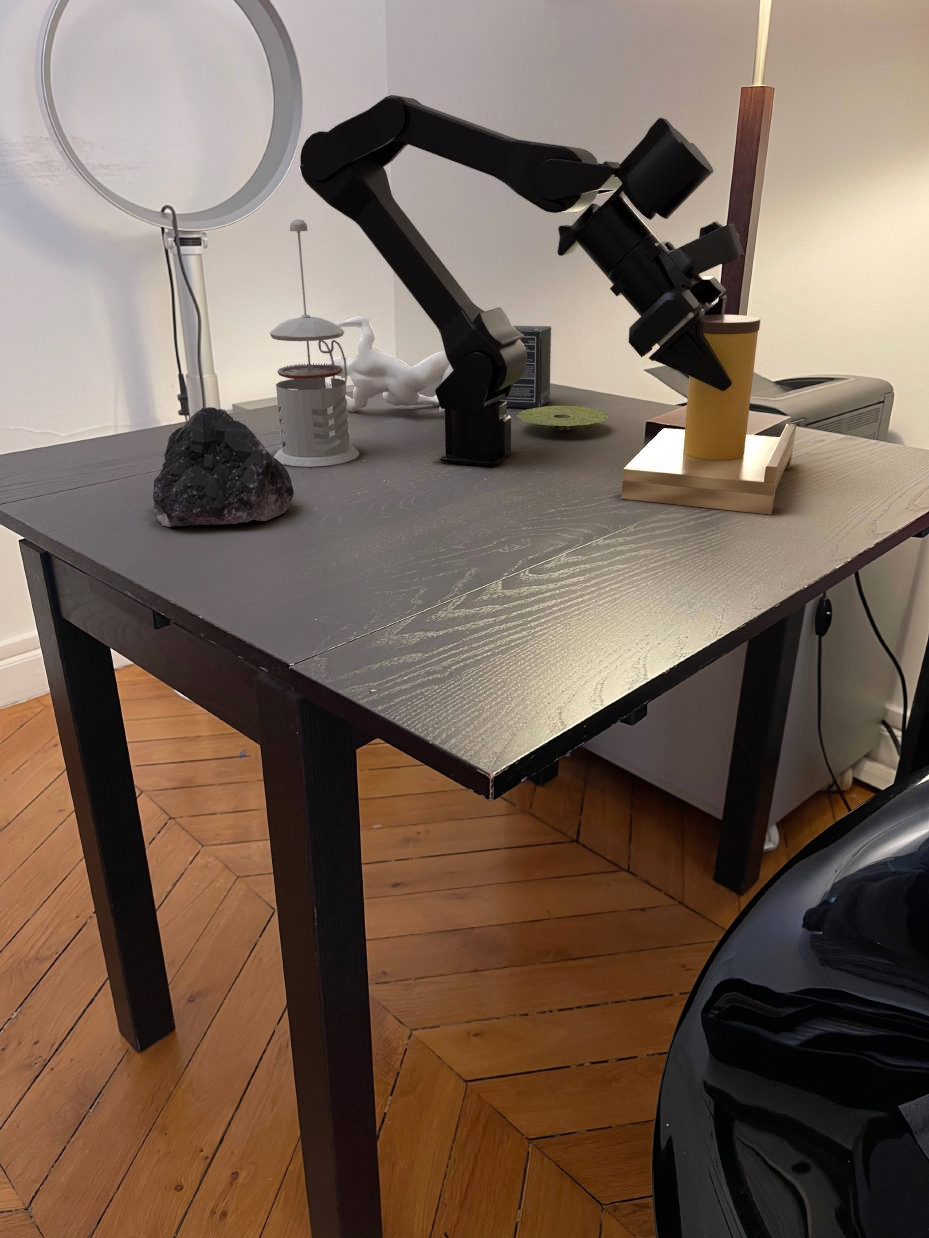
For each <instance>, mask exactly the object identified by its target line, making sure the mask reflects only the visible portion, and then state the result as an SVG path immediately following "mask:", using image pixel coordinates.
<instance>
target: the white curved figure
mask: <svg viewBox="0 0 929 1238" xmlns="http://www.w3.org/2000/svg"><path fill="white" fill-rule="evenodd" d="M331 322H332V323H334V324H335V325H337V326H338V327H340V328H341V329H343V328H358V329H359V328H360V333H359V334H360V338H359V340H358V341H357V344H356V349H357V354H356V356H355V357H354V358H353V359H352V358H349V357H345V359H346V368H347V377H348V376H349V377H350V380H351V381H352V384H353V385H354V387H353V390H352V398H351V397H350V396H348V395H347V394H345V399H347V406H346V410H347V411H349V412H351V413H354V412H357V411H359V410H360V409H363V408H366V407H367V406H368V403H369V399H371V398H374V397H376V396H377V395H380V394H382V398H383V400H384V402H386V403H387V404H390V405H392V406H406V407H407V406H409V407H410V406H419V405H432V406H439V407H438V411H439V413H441V414H445V409H441V407H440V405H439V402H438V399H437V396H436V394H435V395H434V396H427V395H424V394H420V392H421V391H424V390H426V388H428V387H429V386H430V385H432V384H434V383H436V382H438V381H440V384H441V383H442V382H443V381H444V380H445V379H446V378H447V377H448V376H449V374H450V373H451V372H452V371H453V369H452V367H451V365H450V363H449V361H448V359H447V357H446V354H445V350H442V351H438V352H434V353H432V354H431V355H429V356H427V357H426V358H424V359H423V360H421V361H420V362H419V363H417V364H414V365H412V366H411V365H408V363H406V362H405V361H403V360H401V359H400V358H398V357H396V356H394V355H391V354H388V353H385V352H381V351H380V350H379V349H378V348H375V346H374V343H375V341H376V338H377V334H376V331H375V330H374V328H373V326H372V323H371V318H369V317H366V316H362V315H358V316H353V317H352V316H351V317H350V318H348V319H344V320H340V321H331ZM333 360H334V365H337V366H340V367H341V368H342V372H341V373H339V374H338V375H336V376H337V377H340V379H345V369H344V359H343V356H336V357H333ZM329 364H330V365H331V364H332V361H331V360H330V361H329V362H328V365H329ZM336 376H335V377H336ZM325 383H326V388H332V386H331V381H325Z"/></svg>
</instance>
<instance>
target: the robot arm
mask: <svg viewBox="0 0 929 1238" xmlns="http://www.w3.org/2000/svg"><path fill="white" fill-rule="evenodd" d="M407 146H412V147H414V148H417V149H419V150H422V151H425V152H427V153H430V154H433V155H435V156H438V157H441V158H443V159H446V160H449V161H450V162H454V163H457V164H459V165H461V166H465V167H467V168H470V169H473V170H475V171H477V172H480V173H483V174H486V175H489V176H491V177H493V178H495V179H497V180H498V181H500V182H501V183H503V184H505V185H506V186H507V187H508V188H510V189H511V190H512V191H513V192H514V193H515V194H517V195H518V196H520V197H521V198H523V199H525V200H526V201H528V202H529V203H531V204H532V205H533V206H536V207H537V208H539V209H540V210H543V211H544V212H547V213H551V214H560V213H574V212H580V211H582V210H584V209H585V210H584V212H582V213H581V215H580V216H579V217H578V218H577V219H576V220H575V221H574V222H573V223H572V225H571V224H570V225H569V224H563V225H559V226H558V227H557V231H558V244H557V249H556V250H557V251H556V253H557V255H558V256H560V257H563V256H568V255H572V254H574V253H575V252H576V251H577V249H579V247H581V249H582V250H583V251H584V252H585V253H586V254H587V255H588V256H589V258H590V260H592V261H593V263H594V264H595V265H596V266H597V267H598V269H599V270H600V271H601V272H602V273H603V274H604V275H605V276H606V278H607V279H608V280H609V281H610V283H611V284H612V285H611V287H610V288H609V289H610V291H611V292H612V293H613V295H615V297H618V296H623V298H624V299H625V300H626V301H627V302H628V304H629V305H630V306H631V307H632V308H633V309H634V311H636V313H637V314H638V315H639V316H640V317H639V318H637V320H635V321H634V322H633V323H632V325H631V326H629V327H628V343H629V345H630V346H631V348H633V350H635V352H636V353H637V354H638V356H640V358H643V357H645V356H646V355H648V354H649V353H650V352H651V351H652V350H653V348H654V347H655V346H656V345H658V348H657V349H656V350H655V351H653V353H652V354H651V355H650V356H649V357H648V359H649V360H650V361H651V362H657V363H658V364H659V363H660V364H661V365H664V366H666V367H668V368H670V369H673V370H675V371H678V372H680V373H681V374H684V375H686V376H688V377H689V376H691V377H693V378H695V379H697V380H699V381H701V382H704V383H706V384H708V385H710V386H712V387H714V388H716V389H719V390H721V391H725V390H727V389H728V388H729V387H730V386H731V385H732V381H731V379H730V378H729V376H728V374H727V372H726V370H725V369H724V367H723V365H722V364H721V362H720V361H719V359H718V357H717V356H716V354H715V352H714V351H713V349H712V347H711V346H710V344H709V342H708V341H707V339H706V337H705V336H704V333H703V328H704V315H725V310H726V303H727V299H728V297H727V295H726V294H725V295H723V294H724V293H725V292H726V291H727V290H726V288H725V287H724V286H723V285H722V283H720V281H719V280H718V279H717V278H716V277H715V276H702V275H700V274H703V273H704V272H707V271H709V270H711V269H713V268H715V267H718V266H720V265H722V266H725V265H728V264H729V263H731V262H735V261H736V260H738V259H741V258H742V257H744V256H745V253H744V250H743V247H742V245H741V242H740V234H739V233H738V232H737V229H736V227H735V224H734V223H729V224H728V223H727V224H725V225H724V226H723V225H722V224H721V223H720V222H719V221H718V220H715V221H712V222H711V223H709V224H707V225H704V226H702V227H700V229H699V234H698V237H697V238H696V239H694V240H692V241H689V242H687V243H685V244H682V245H681V246H679V247H677V248H676V247H675V246H674V244H673V243H672V242H670V241H666V240H664V241H663V240H662V241H660V240H659V239H658V237H657V236H656V235H655V234H654V233H653V231H652V230H651V229H650V228H649V227H648V225H647V224H645V222H644V221H643V220H642V218H641V217H640V216H639V215H638V214H637V213H636V211H635V210H634V209H633V208H632V207H631V206H630V204H629V203H628V202H627V201H626V200H625V198H627V199H628V200H629V202H630V203H631V204H632V206H633V207H634V208H635V209H636V210H637V212H639V213H640V214H641V215H642V216H643V217H645V218H646V219H648V220H649V221H652V220H653V219H654V218H655V217H656V216H657V215H658V216H659V217H661V218H662V219H665V220H669V218H670V217H671V216H672V215H673V214H675V212H676V211H677V210H678V209H679V208H680V207H681V206H682V205H683V204H684V203H685V202H686V201H687V200H688V199H689V198H690V197H691V196H692V194H694V193H695V192H696V191H697V190H698V188H700V186H702V185H703V183H704V182H705V181H707V180H708V179H709V177H710V176H711V175H712V174H714V172H715V170H714V167H713V166H712V164H711V163H710V161H709V160H708V159H707V157H706V156H705V155H704V153H702V151H701V150H700V149H699V148H698V146H697V145H696V144H695V143H693V142H690V141H689V140H688V139H687V138H686V137H685V136H684V135H683V134H682V133H681V132H680V131H679V130H677V128H675V127H674V126H673V125H672V124H671V122H669V120H668V119H667V118H664V117H659V118H657V120H656V121H654V122H653V124H652V125H651V126H650V127H649V129H648V130H647V132H646V133H645V136H644V137H643V138H642V139H641V140H640V142H639V143H638V144H637V145H636V146H634V148H633V149H632V150H631V151H630V153H628V154H627V156H626V157H625V158H624V159H623V160H622V161H621V163H620V162H619V161H608V160H607V161H606V160H605V161H603V162H602V163H600V162H598V159H597V157H596V156H595V155H594V154H593V153H592V152H590V151H588V150H587V149H585V148H581V147H575V146H568V145H560V144H554V143H546V142H539V141H531V140H524V139H518V138H516V137H512V136H510V135H507V134H504V133H501V132H499V131H496V130H493V129H490V128H488V127H485V126H482V125H480V124H477V123H474V122H471V121H468V120H465V119H463V118H460V117H457V116H455V115H452V114H450V113H446V112H444V111H441V110H438V109H435V108H433V107H430V106H426V105H424V104H422V103H421V102H420V101H418V100H417V99H416V98H413V97H406V96H401V95H395V94H389V95H387V96H384V98H382V99H381V100H379V101H378V102H376V103H375V104H374V105H373V106H371V107H369V108H368V109H366V110H365V111H362V112H360V113H358V114H356V115H354V116H352V117H350V118H348V119H346V120H344V121H342V122H340V123H337V124H336V125H335V126H334V127H332V128H331V129H329V130H328V131H322V130H321V131H320V130H319V131H316V132H314V133H312V134H311V135H309V137H307V139H306V140H305V141H304V143H303V145H302V147H301V152H300V157H299V158H300V165H299V171H300V175H301V177H302V179H303V180H304V182H305V184H306V185H307V186H308V187H309V188H311V190H312V191H314V193H316V194H317V196H319V197H320V198H321V199H322V200H323V201H325V203H326V204H327V205H328V206H330V207H332V208H333V209H335V210H336V211H337V212H339V213H341V214H342V215H344V216H345V217H347V218H348V219H349V220H352V221H353V222H354V223H355V224H356V225H357V226H358V227H359V228H360V230H362V232H363V233H364V235H365V236H366V237H367V239H368V240H369V241H370V242H371V244H372V245H373V246H374V248H375V249H376V250H377V251H378V253H379V254H380V256H381V257H382V258H383V259H384V260H385V262H386V263H387V264H388V266H389V267H390V268H391V270H392V272H393V273H394V274H395V275H396V276H397V278H398V279H399V280H400V281H401V283H402V284H403V285H404V287H405V288H406V289H407V290H408V292H409V293H410V295H411V296H412V297H413V298H414V300H415V301H416V302H417V304H418V305H419V306H420V307H421V309H422V310H423V311H424V312H425V314H426V315H427V316H428V318H429V319H430V320H431V322H432V323H433V324H434V326H435V327H436V328H437V330H438V332H439V334H440V338H441V341H442V346H443V351H445V354H446V357H447V359H448V361H449V363H450V365H451V367H452V369H453V371H452V372H451V373H450V374H449V376H448V377H447V378H446V379H445V380H444V381H443V382H442V383H441V382H440V384H438V386H437V387H436V388H435V390H434V393H435V395H436V396H437V399H438V402H439V405H440V406H439V405H438V406H439V408H440V407H441V409H445V413H444V443H445V445H444V447H445V448H444V449H445V453H444V454H443V455H441V456H440V457H439V461H440V462H441V463H448V464H449V463H450V464H462V465H477V466H486V467H488V466H489V467H495V466H497V465H498V464H500V463H501V462H502V461H503V460H504V459H505V458H506V457H508V456H509V455H510V454H511V453H512V417H511V416H510V415H508V414H507V408H508V407H507V402H506V401H499V400H501V399H503V398H507V397H509V395H510V392H511V389H512V386H513V383H515V382H516V381H518V380H519V379H520V378H521V376H522V375H523V374H524V371H525V368H526V362H527V352H526V349H525V347H524V345H523V343H522V342H521V341H520V340H519V339H521V338H524V335H523V334H522V333H520V332H518V331H517V330H516V329H515V328H514V327H513V326H514V325H513V324H512V323H511V321H510V319H509V317H508V315H507V313H506V312H505V311H504V309H503V308H502V307H501V306H499V307H496V308H492V309H488V310H484V309H482V308H481V307H479V306H477V305H476V304H475V302H473V301H472V299H471V298H470V297H469V295H468V294H467V293H466V291H465V290H464V289H463V287H462V286H461V285H460V284H459V282H458V281H457V279H456V278H455V277H454V276H453V275H452V273H451V272H450V270H449V269H448V268H447V267H446V265H445V264H444V262H443V261H442V260H441V259H440V257H439V256H438V255H437V253H436V252H435V251H434V250H433V248H432V246H431V245H430V244H429V243H428V242H427V240H426V239H425V238H424V237H423V235H422V234H421V233H420V231H419V230H418V229H417V227H416V226H415V225H414V224H413V222H412V221H411V219H410V218H409V216H408V215H407V214H406V213H405V212H404V211H403V209H402V208H401V206H400V205H399V204H398V203H397V201H396V200H395V198H394V196H393V193H392V189H391V186H390V181H389V178H388V174H387V171H386V168H385V167H386V166H388V165H389V164H390V163H392V162H393V161H394V160H395V159H396V158H397V157H398V156H399V155H400V153H401V152H403V150H404V149H405V148H406V147H407ZM612 192H613V193H612ZM607 193H612V194H611V195H610V196H609V197H608V198H607V199H606V200H605V202H603V203H602V205H599V204H598V203H593V202H594V201H595V200H596V198H597V197H598V196H599V195H602V194H607ZM722 295H723V296H722ZM721 296H722V297H721ZM719 297H721V298H719ZM718 299H719V300H718ZM716 300H717V301H716ZM715 301H716V302H715ZM714 302H715V303H714ZM512 325H513V326H512Z"/></svg>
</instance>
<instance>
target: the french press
mask: <svg viewBox="0 0 929 1238" xmlns="http://www.w3.org/2000/svg"><path fill="white" fill-rule="evenodd" d="M308 231H309V230H308V224H307V223H306V222H305V221H304V220H303V219H301V218H300V219H299V218H297V219H294V220H292V221H291V222H290V224H289V232H296V233H297V240H298V252H299V253H298V254H299V265H300V276H301V290H302V301H303V302H302V303H303V314H302V315H301V316H300V317H295V318H291V319H287V320H285V321H283V322H280V323H279V324H278V325H276V326H275V327H274V328H273V329H272V330H271V331H269V336H270V337H271V339H273V340H275V341H276V340H277V341H285V342H306V350H307V361H308V363H303V364H302V363H301V364H300V363H298V364H291V365H286V366H283V367H280V368H278V370H277V375H278V376H280V377H283V378H286V379H285V380H281V381H279V382H277V383H275V389H276V401H277V408H278V409H277V411H278V412H277V413H278V419H279V431H280V432H279V433H280V442H281V448H280V449H279V450H277V451H276V453H275V454H274V455H273V458H275V459H277V460H278V461H279V462H281V464H282V465H287V466H291V467H309V468H311V467H327V466H333V465H340V464H345V463H347V462H350V461H353V460H355V459H357V458H358V457H359V456H360V453H359V450H358V449H357V448H356V447H355V446H354V445H352V444H350V442H351V441H350V432H349V430H348V429H349V427H350V426H349V421H348V417H349V410H348V409H347V408H346V406H347V399H345V395H347V381H348V376H347V368H346V359H345V353H344V350H343V347H342V346H341V344H340V342H339V341H337V340H335V339H339V338H341V337H343V336H344V334H345V330H344V329H343V328H340V327H338V326H337V325H335V324H334V323H332V322H333V321H330V320H327V319H324V318H321V317H317V316H311V315H309V314H307V305H306V304H307V303H306V293H305V280H304V279H305V278H304V268H303V267H304V266H303V256H302V255H303V254H302V243H301V232H308ZM327 340H331V342H330V347H329V343H327V342H326V341H327ZM317 341H318V343H317V344H318V350H319V352H320V353H322V354H329V358H330V361H332V364H331V365H330V364H329V363H318V364H317V363H311V355H310V342H317ZM321 343H323V344H324V345H325V347H326V349H327V350H323V349H322V344H321ZM334 343H335V344H336V345H337V346H338V348H339V350H340V353H341V355H342V356H341V357H343V359H344V369H345V378H344V379H342V378H337V377H336V375H338V374H339V373H341V372H342V368H341V367H340V366H337V365H334V360H333V358H334V356H333V352H334ZM327 378H330V383H331V386H332V388H326V383H325V382H326V379H327ZM330 408H332V412H330V413H329V412H328V411H329V410H328V409H330ZM281 410H282V411H281ZM331 420H333V423H332V424H329V422H330V421H331ZM282 421H283V422H282ZM283 432H284V434H283ZM330 432H334V435H332V436H330Z"/></svg>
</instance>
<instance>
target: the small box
mask: <svg viewBox="0 0 929 1238" xmlns="http://www.w3.org/2000/svg"><path fill="white" fill-rule="evenodd" d="M512 326H513V327H514V328H515V329H516V330H517V331H518V332H520V333H522V334H523V335H524V338H521V339H519V340H520V341H521V342H522V343H523V345H524V347H525V349H526V352H527V362H526V368H525V371H524V374H523V375H522V376H521V378H520V379H519V380H518V381H516V382H515V383H513V386H512V389H511V392H510V395H509V397H507V398H503V399H501V400H499V401H506V402H507V407H506V408H517V409H519V408H520V409H533V408H540V407H544V406H545V405H546V404H547V403H549V402H550V400H551V361H552V360H551V359H552V355H551V353H552V350H551V349H552V326H551V325H513V324H512Z"/></svg>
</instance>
